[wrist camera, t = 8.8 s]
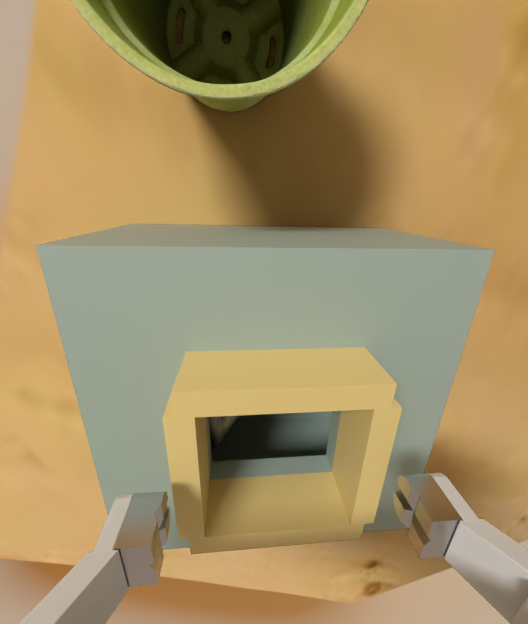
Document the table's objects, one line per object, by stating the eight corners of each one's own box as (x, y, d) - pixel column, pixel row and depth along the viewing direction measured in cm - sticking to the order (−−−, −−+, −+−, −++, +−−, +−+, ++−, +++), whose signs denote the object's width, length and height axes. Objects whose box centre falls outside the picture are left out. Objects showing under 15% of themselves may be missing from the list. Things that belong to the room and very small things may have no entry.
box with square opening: (380, 228, 19) (567, 263, 8) (348, 417, 25) (433, 582, 14) (132, 223, 17) (-34, 260, 7) (160, 426, 23) (96, 618, 13)
